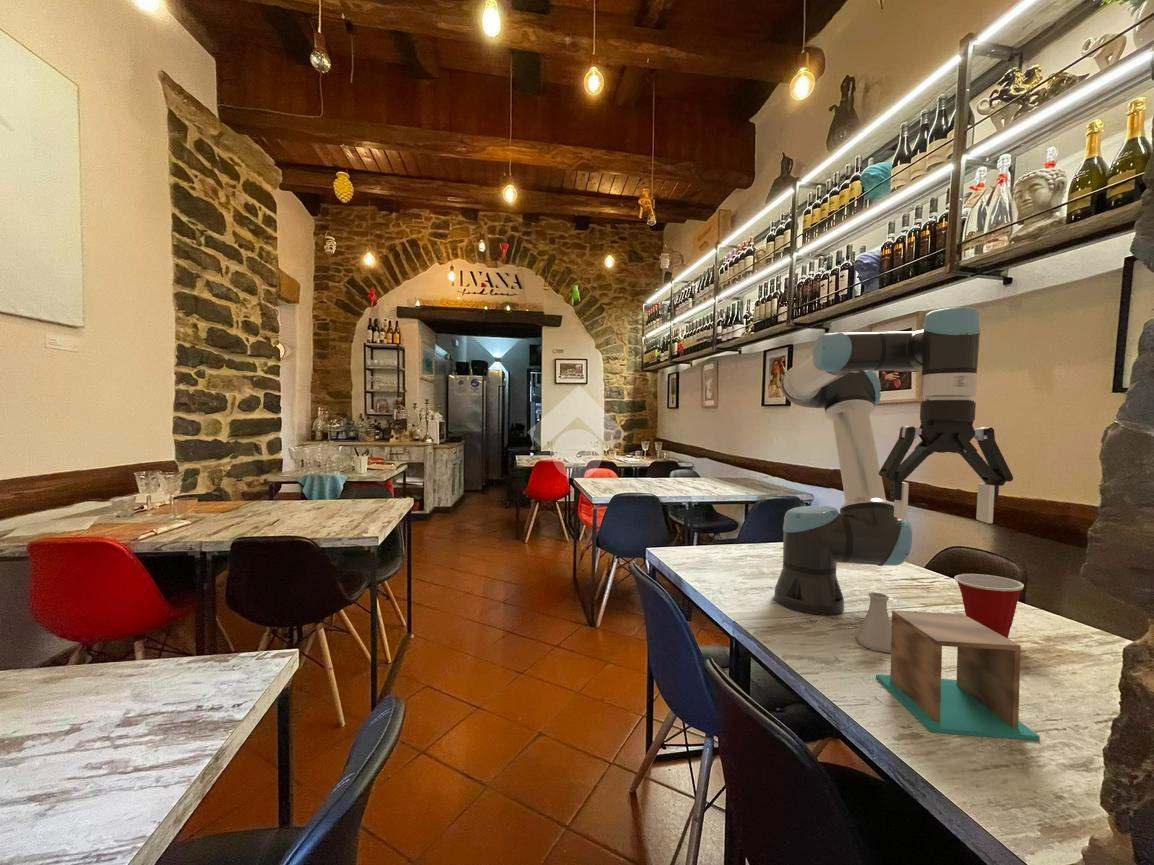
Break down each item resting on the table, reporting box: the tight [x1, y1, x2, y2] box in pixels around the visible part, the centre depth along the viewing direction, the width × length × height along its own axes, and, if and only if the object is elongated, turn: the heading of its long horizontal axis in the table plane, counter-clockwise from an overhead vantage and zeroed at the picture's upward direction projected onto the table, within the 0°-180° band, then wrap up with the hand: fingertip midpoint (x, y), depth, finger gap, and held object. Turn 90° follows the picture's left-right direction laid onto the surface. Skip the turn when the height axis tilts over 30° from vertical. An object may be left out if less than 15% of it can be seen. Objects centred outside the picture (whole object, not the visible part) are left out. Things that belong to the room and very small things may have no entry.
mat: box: [875, 674, 1041, 741], centre depth 71 cm, size 14×14×1 cm
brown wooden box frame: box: [889, 609, 1022, 728], centre depth 71 cm, size 11×11×12 cm
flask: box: [855, 591, 892, 654], centre depth 91 cm, size 7×7×10 cm
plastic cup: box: [953, 573, 1025, 639], centre depth 95 cm, size 11×11×12 cm
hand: (941, 520), depth 81 cm, fingers open, 13 cm apart
